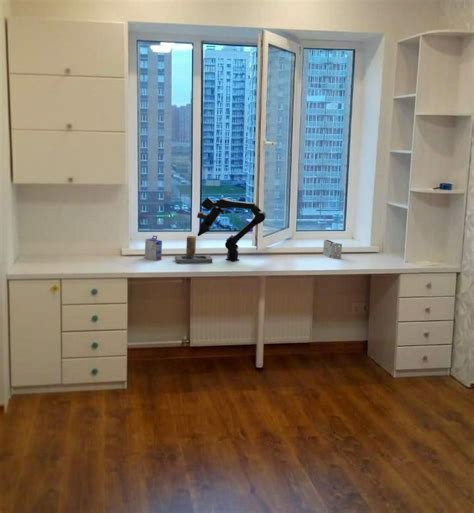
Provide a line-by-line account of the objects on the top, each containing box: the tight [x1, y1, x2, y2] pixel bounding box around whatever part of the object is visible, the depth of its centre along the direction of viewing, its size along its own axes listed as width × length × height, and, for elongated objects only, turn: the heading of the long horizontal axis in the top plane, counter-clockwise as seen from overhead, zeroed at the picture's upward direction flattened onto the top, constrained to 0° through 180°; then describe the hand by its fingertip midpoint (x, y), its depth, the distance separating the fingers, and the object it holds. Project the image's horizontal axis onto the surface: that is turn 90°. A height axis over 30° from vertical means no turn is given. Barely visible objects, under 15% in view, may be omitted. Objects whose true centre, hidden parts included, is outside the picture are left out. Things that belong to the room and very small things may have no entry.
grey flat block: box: [174, 254, 213, 264], centre depth 402 cm, size 22×9×2 cm, turn 104°
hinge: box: [322, 239, 343, 259], centre depth 430 cm, size 14×5×10 cm, turn 41°
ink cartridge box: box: [144, 235, 163, 262], centre depth 401 cm, size 10×6×14 cm, turn 53°
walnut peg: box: [185, 235, 197, 256], centre depth 411 cm, size 5×5×13 cm
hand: (199, 234), depth 408 cm, fingers open, 9 cm apart
